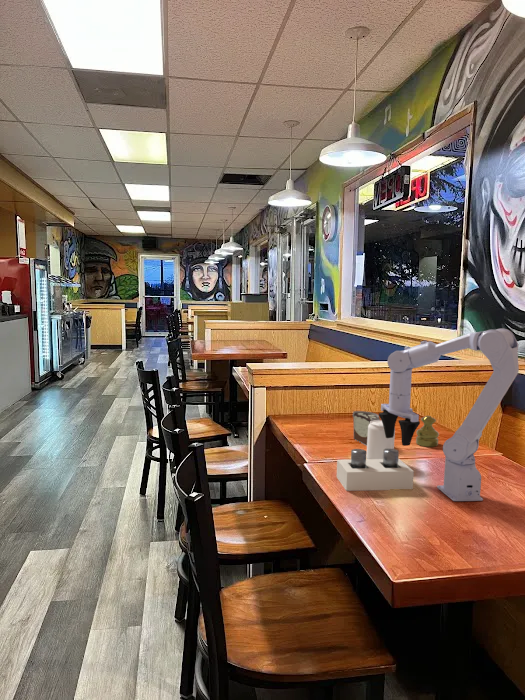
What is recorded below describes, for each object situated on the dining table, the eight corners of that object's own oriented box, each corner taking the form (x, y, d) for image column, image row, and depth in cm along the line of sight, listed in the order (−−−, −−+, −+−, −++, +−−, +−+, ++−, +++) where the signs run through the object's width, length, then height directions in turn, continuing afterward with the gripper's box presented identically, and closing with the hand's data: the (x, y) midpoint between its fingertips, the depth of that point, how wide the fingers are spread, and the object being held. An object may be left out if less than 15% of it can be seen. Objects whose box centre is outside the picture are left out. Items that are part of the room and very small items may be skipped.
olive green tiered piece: (416, 446, 171) (418, 417, 170) (415, 440, 179) (416, 413, 177) (439, 448, 170) (441, 419, 169) (436, 442, 177) (438, 414, 176)
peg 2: (400, 469, 134) (401, 453, 134) (385, 469, 134) (386, 453, 133) (394, 464, 138) (395, 448, 138) (380, 464, 138) (381, 448, 137)
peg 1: (367, 469, 133) (368, 453, 133) (353, 469, 133) (353, 453, 132) (363, 464, 137) (363, 448, 137) (348, 464, 137) (349, 448, 136)
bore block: (412, 489, 132) (413, 471, 132) (346, 490, 130) (347, 472, 130) (398, 475, 142) (399, 458, 141) (336, 477, 140) (337, 459, 140)
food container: (386, 446, 170) (387, 417, 169) (371, 448, 168) (372, 419, 167) (366, 436, 182) (367, 409, 181) (351, 438, 179) (352, 410, 178)
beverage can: (393, 458, 158) (395, 421, 156) (392, 466, 150) (395, 427, 148) (367, 455, 160) (369, 418, 158) (365, 463, 152) (367, 425, 151)
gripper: (429, 397, 133) (426, 447, 135) (396, 388, 147) (393, 433, 148) (407, 399, 131) (404, 449, 132) (375, 389, 144) (373, 435, 146)
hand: (397, 441), depth 140 cm, fingers open, 7 cm apart
